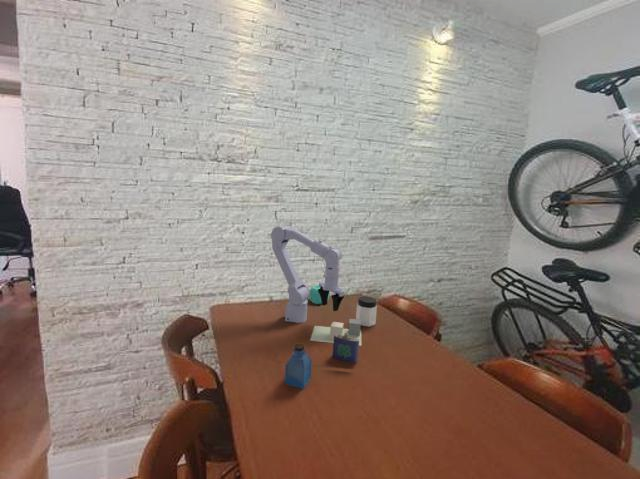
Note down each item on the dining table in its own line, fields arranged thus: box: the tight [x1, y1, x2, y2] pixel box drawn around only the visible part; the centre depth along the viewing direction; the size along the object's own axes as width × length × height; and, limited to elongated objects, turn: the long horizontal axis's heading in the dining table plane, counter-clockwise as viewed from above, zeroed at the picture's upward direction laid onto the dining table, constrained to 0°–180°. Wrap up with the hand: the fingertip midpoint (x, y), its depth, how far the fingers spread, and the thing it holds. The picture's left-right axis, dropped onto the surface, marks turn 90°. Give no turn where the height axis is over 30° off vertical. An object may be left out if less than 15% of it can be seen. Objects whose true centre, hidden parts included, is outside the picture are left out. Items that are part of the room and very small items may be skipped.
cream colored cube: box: [330, 321, 345, 338], centre depth 134 cm, size 5×5×5 cm
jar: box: [355, 295, 378, 328], centre depth 149 cm, size 9×8×12 cm
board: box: [309, 325, 362, 347], centre depth 135 cm, size 20×14×4 cm
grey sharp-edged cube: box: [348, 318, 362, 336], centre depth 138 cm, size 5×5×5 cm
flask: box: [332, 333, 359, 363], centre depth 116 cm, size 9×3×11 cm, turn 68°
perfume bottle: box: [284, 342, 312, 390], centre depth 103 cm, size 6×6×12 cm
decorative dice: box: [308, 284, 331, 305], centre depth 175 cm, size 8×8×8 cm
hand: (329, 307), depth 142 cm, fingers open, 7 cm apart
